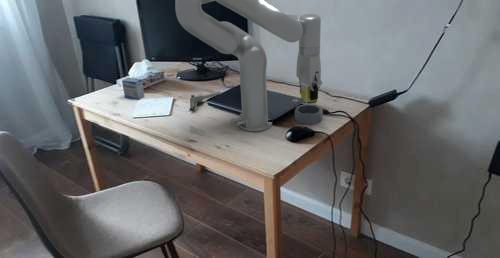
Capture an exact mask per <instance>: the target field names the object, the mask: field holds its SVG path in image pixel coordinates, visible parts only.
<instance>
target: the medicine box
mask: <svg viewBox="0 0 500 258" xmlns="http://www.w3.org/2000/svg"><path fill="white" fill-rule="evenodd" d="M121 84H122V88H123V94H124V98H125V99H128V100H137V101H140V100H141V99H143V98H144V97H145V91H144V85H143V79H142V78H133V77H127V78H124V79H122V80H121Z"/></svg>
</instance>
